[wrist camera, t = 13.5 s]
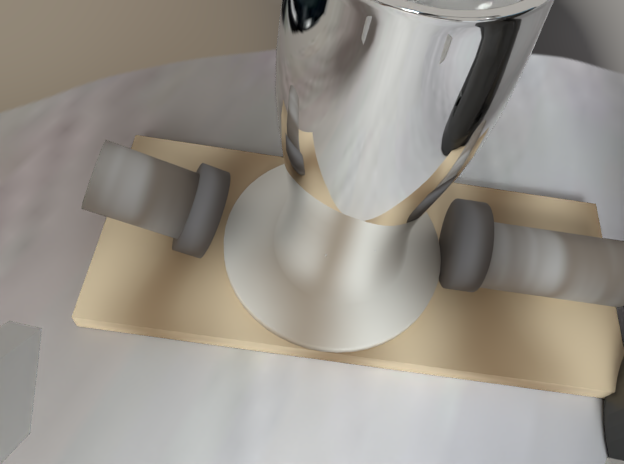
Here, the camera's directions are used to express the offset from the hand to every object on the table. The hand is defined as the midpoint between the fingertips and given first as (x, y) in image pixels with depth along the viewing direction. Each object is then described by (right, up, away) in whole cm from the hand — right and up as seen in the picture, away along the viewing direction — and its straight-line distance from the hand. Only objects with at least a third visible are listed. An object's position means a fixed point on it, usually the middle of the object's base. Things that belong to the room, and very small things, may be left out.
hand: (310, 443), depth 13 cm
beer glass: (+1, +4, +13) cm, 14 cm away
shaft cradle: (+2, +3, +15) cm, 15 cm away
